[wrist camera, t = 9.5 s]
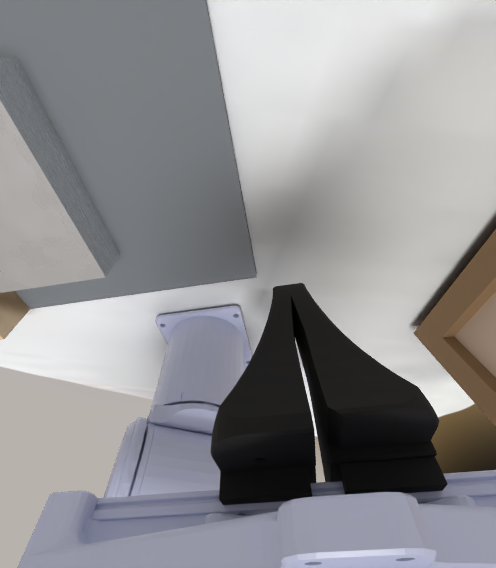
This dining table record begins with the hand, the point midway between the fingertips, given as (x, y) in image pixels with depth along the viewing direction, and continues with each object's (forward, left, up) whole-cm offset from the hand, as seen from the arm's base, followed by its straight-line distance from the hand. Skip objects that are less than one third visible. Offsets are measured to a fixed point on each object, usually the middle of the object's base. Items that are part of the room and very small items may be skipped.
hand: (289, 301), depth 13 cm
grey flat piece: (+5, +16, -9) cm, 19 cm away
